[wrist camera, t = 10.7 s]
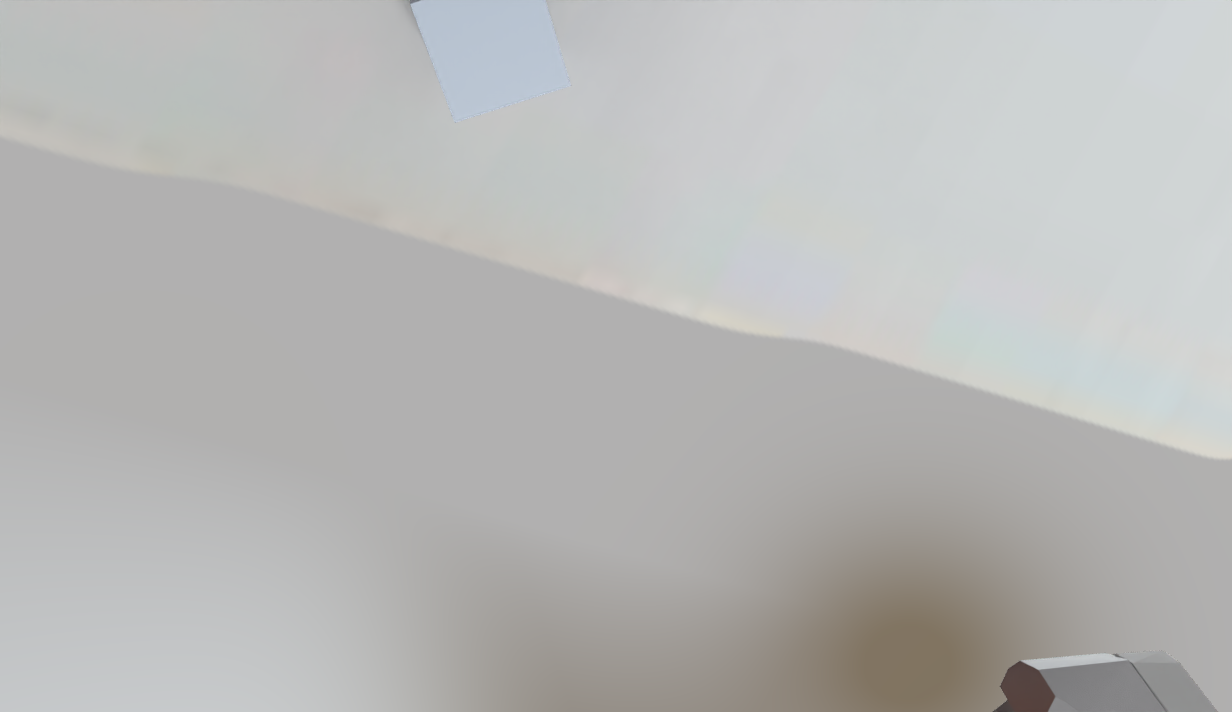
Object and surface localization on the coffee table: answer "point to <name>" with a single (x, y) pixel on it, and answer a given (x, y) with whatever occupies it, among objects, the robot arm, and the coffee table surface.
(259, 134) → the coffee table surface
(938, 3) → the coffee table surface
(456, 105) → the slate block
